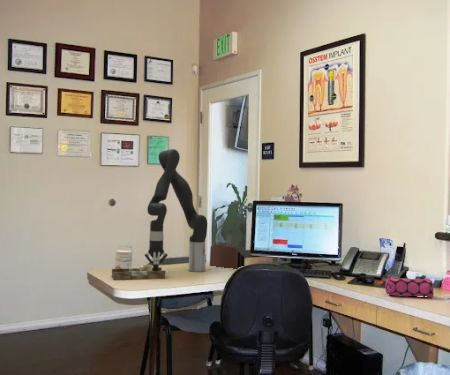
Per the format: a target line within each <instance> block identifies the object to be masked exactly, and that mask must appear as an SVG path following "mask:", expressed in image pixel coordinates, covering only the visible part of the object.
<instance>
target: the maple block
mask: <svg viewBox="0 0 450 375" xmlns="http://www.w3.org/2000/svg"><path fill="white" fill-rule="evenodd" d="M139 268H140V271H152V268H153V265H152V264H140V265H139Z"/></svg>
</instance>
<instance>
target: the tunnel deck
mask: <svg viewBox="0 0 450 375" xmlns="http://www.w3.org/2000/svg"><path fill="white" fill-rule="evenodd" d="M162 269H163V268H162V267H159V269H158V270H157V271H154V270H153V267H152V271H140V267H132V268H120V269H115V268H111V277H112V279H113V280H114V281H131V280H132V281H133V280H134V281H135V280H156V279H157V280H159V279H160V280H162V279H163V280H164V279H166V270H162Z"/></svg>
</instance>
